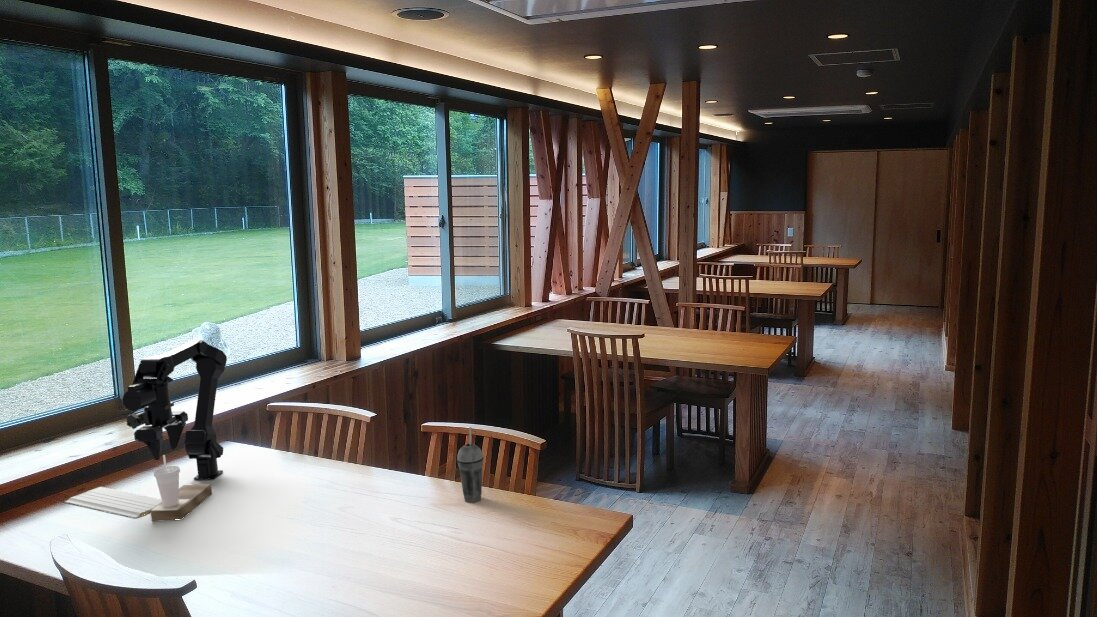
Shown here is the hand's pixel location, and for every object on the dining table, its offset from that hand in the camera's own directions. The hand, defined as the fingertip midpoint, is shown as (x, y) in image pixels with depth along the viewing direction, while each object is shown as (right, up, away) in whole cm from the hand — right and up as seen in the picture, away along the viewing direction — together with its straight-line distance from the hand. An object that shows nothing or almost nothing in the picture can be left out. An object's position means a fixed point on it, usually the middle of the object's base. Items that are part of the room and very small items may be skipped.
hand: (165, 454), depth 220 cm
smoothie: (+7, -11, -11) cm, 18 cm away
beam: (+7, -14, -5) cm, 16 cm away
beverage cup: (+88, -11, -10) cm, 89 cm away
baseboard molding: (-14, -15, 0) cm, 20 cm away
